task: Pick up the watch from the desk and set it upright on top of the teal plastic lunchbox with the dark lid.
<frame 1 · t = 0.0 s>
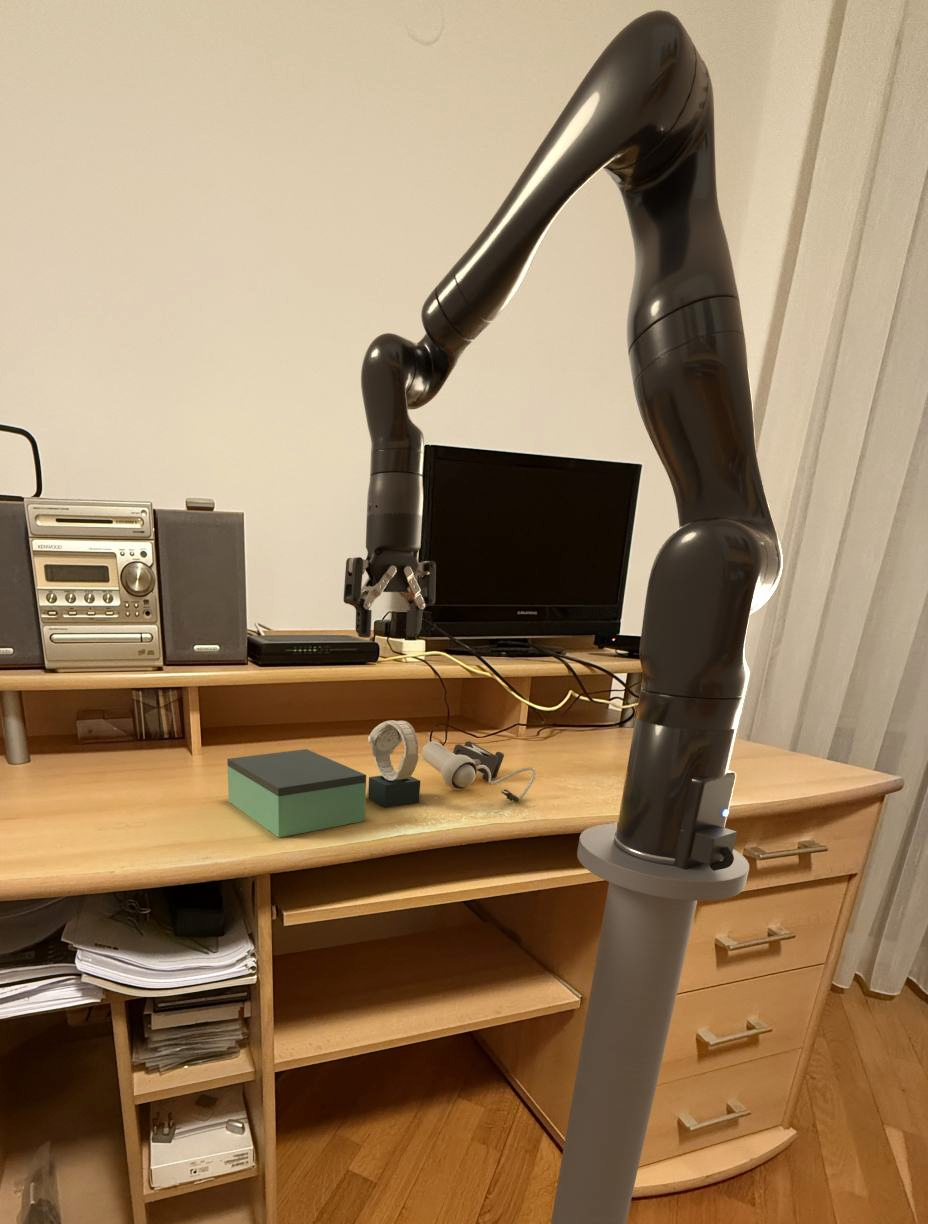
hand: (388, 636, 91), 21 cm above the table, tool pointing down, fingers open, 8 cm apart
watch: (392, 801, 87), on the table
clip-on lamp: (478, 788, 93), on the table
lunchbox: (294, 811, 82), on the table
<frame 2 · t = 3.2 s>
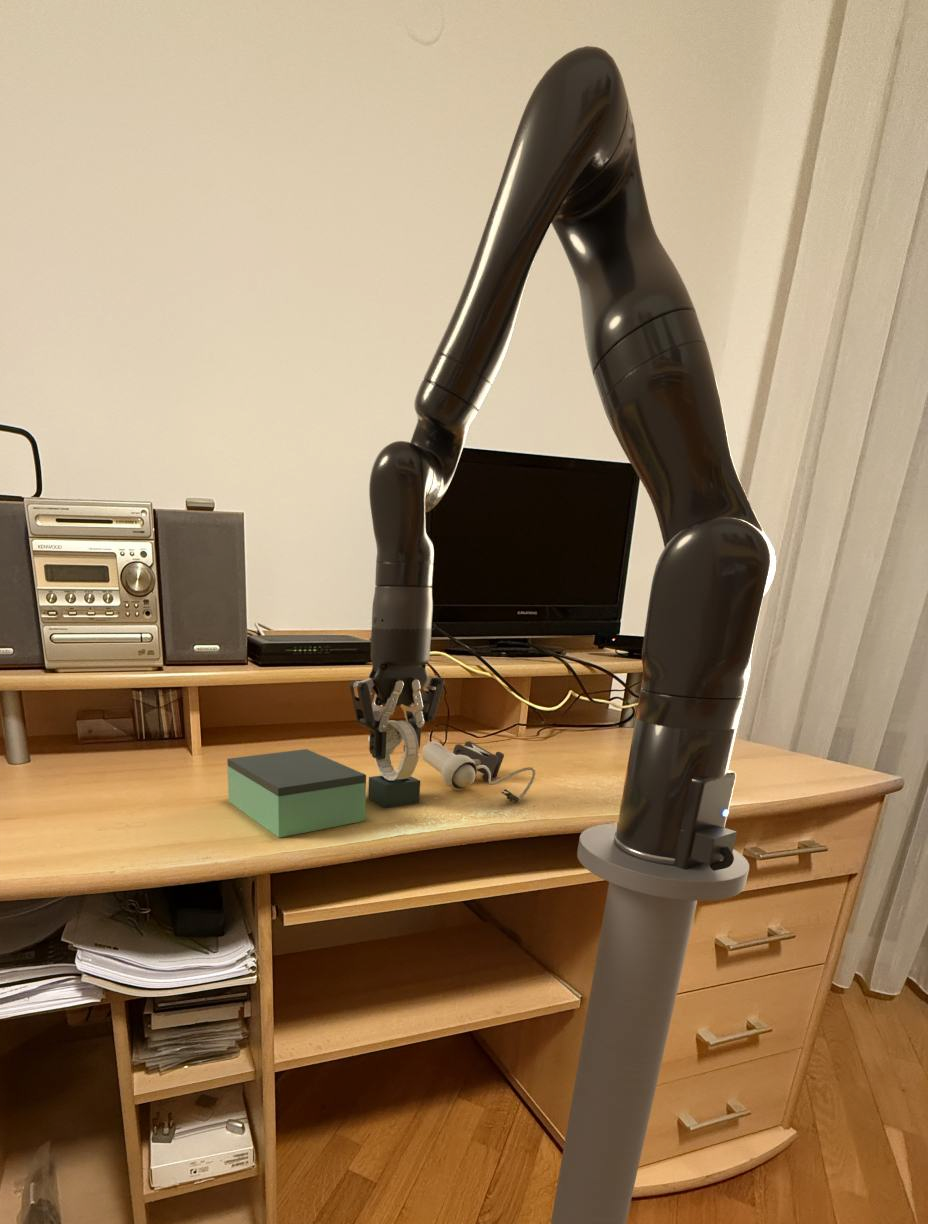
hand: (394, 755, 85), 6 cm above the table, tool pointing down, fingers closed on watch, 4 cm apart
watch: (392, 801, 87), on the table, touching gripper
everything else where it was.
when the fingers open (12 cm above the table, at t = 8.8 s): watch stays where it is, resting on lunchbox.
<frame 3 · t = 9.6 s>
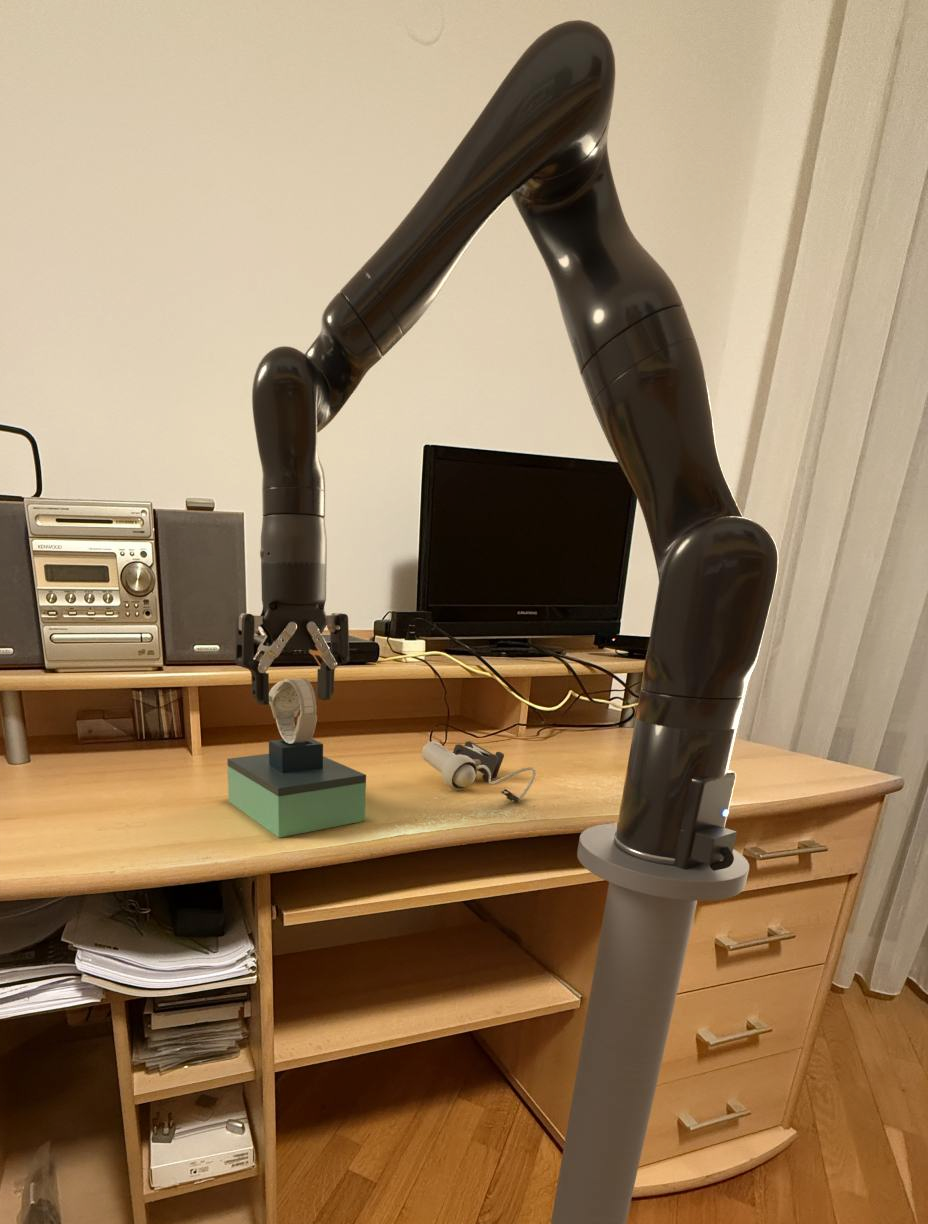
hand: (294, 701, 77), 14 cm above the table, tool pointing down, fingers open, 8 cm apart
watch: (295, 767, 80), point 6 cm above the table, touching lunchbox
everything else where it was.
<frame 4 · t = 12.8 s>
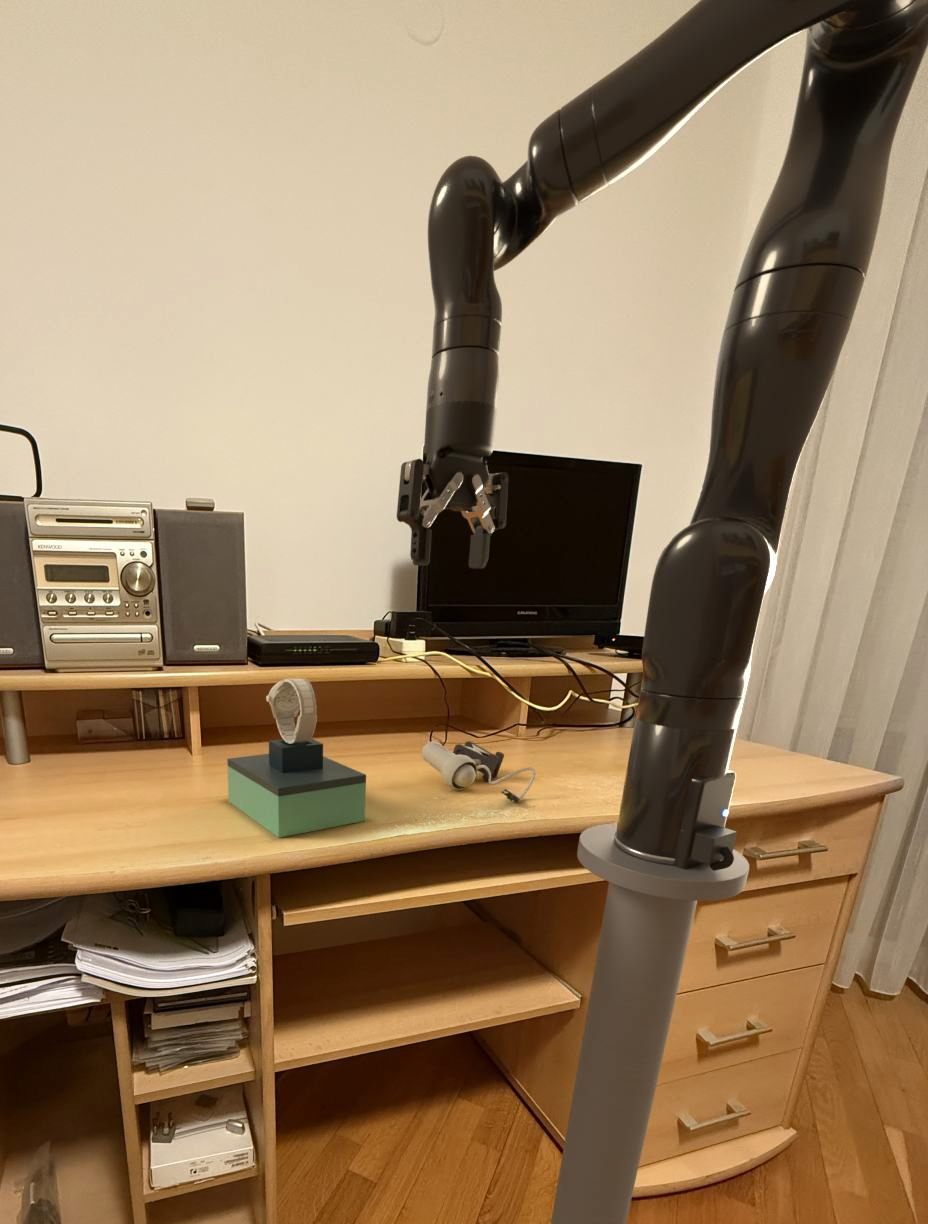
hand: (449, 566, 74), 30 cm above the table, tool pointing down, fingers open, 8 cm apart
nothing on the table moved.
at the end: watch inside the target area on the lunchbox (0.1 cm from its centre), point 5.8 cm above the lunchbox's base; watch tilted 0°; the gripper is holding nothing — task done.
